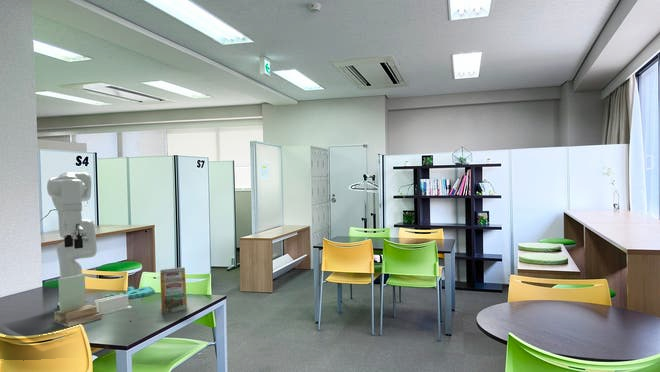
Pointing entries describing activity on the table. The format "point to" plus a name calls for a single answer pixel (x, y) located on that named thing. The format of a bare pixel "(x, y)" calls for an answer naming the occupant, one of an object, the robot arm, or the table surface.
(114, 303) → the stand
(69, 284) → the sheet
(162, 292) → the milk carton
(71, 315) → the offcut upper
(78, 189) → the robot arm
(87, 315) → the offcut lower
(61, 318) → the rack
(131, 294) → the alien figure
